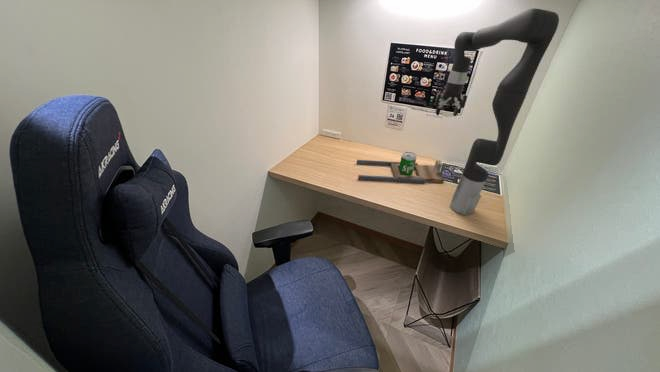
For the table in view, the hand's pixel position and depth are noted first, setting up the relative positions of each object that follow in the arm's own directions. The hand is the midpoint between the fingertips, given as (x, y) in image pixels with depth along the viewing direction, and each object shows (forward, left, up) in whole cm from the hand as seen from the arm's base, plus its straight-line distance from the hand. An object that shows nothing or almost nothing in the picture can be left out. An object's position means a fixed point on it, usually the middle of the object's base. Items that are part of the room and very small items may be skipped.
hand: (445, 115), depth 130 cm
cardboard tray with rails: (-3, +14, -30) cm, 33 cm away
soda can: (-1, +19, -30) cm, 36 cm away
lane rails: (+3, +27, -30) cm, 40 cm away
